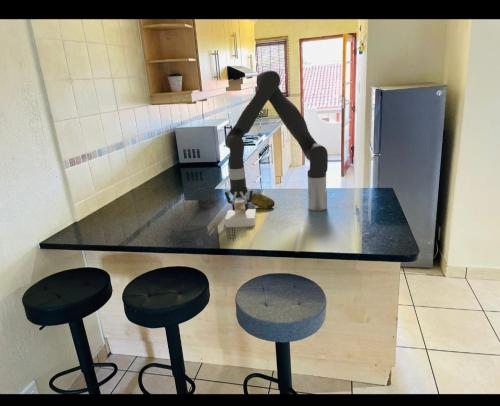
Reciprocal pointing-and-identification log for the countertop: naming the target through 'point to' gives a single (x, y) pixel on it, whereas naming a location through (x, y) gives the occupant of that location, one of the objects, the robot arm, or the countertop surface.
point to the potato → (262, 201)
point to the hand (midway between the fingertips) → (240, 210)
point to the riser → (240, 218)
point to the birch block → (239, 206)
